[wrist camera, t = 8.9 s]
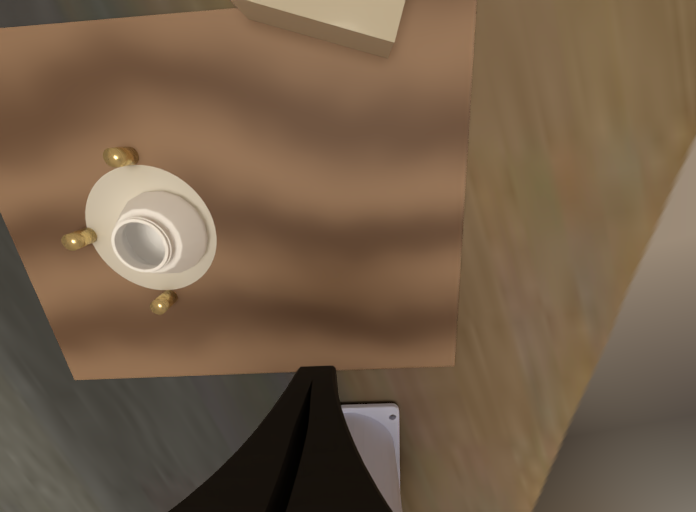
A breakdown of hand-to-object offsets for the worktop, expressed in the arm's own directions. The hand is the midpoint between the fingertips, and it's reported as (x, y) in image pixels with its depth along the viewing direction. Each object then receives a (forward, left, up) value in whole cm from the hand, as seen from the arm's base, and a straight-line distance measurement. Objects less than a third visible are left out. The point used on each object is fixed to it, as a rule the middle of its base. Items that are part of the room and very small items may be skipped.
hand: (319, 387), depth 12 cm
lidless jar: (+4, +10, -10) cm, 14 cm away
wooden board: (+4, +6, -10) cm, 13 cm away
